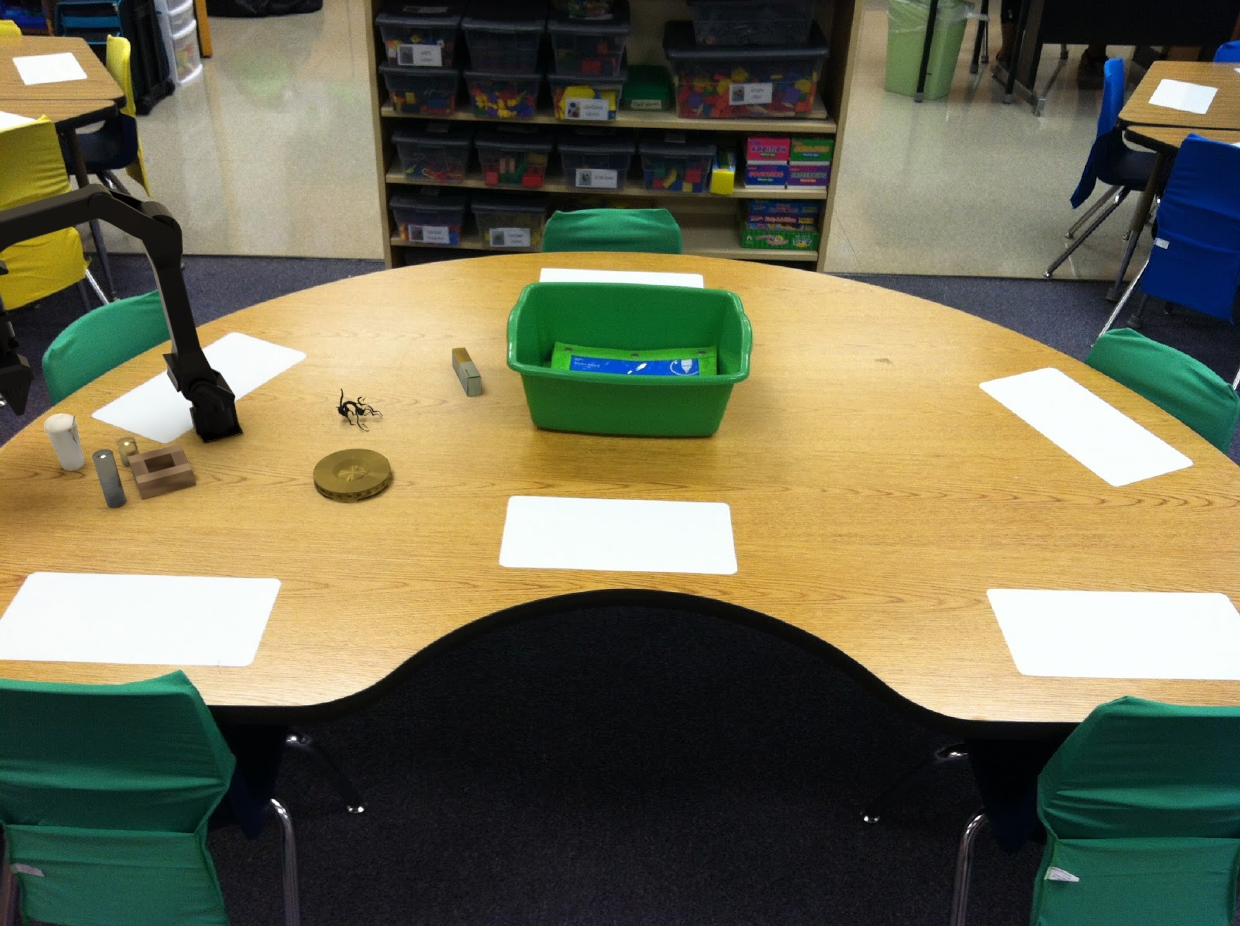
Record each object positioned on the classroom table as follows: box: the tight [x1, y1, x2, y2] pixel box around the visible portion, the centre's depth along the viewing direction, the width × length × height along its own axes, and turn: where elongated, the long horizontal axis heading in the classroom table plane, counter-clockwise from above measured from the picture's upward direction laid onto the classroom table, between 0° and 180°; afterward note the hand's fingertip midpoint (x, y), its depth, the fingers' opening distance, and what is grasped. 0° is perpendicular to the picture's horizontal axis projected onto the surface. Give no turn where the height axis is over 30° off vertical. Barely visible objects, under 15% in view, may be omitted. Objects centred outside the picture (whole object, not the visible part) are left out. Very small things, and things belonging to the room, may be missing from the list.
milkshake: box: [43, 413, 85, 472], centre depth 163 cm, size 4×5×10 cm
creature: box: [335, 388, 384, 432], centre depth 179 cm, size 8×5×8 cm
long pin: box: [91, 448, 128, 509], centre depth 157 cm, size 3×3×9 cm
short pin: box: [116, 436, 140, 468], centre depth 167 cm, size 3×3×4 cm
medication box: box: [451, 347, 482, 398], centre depth 192 cm, size 12×3×4 cm, turn 22°
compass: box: [312, 448, 392, 503], centre depth 166 cm, size 12×12×2 cm
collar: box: [128, 443, 197, 500], centre depth 164 cm, size 8×8×3 cm
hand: (14, 400), depth 155 cm, fingers open, 9 cm apart
